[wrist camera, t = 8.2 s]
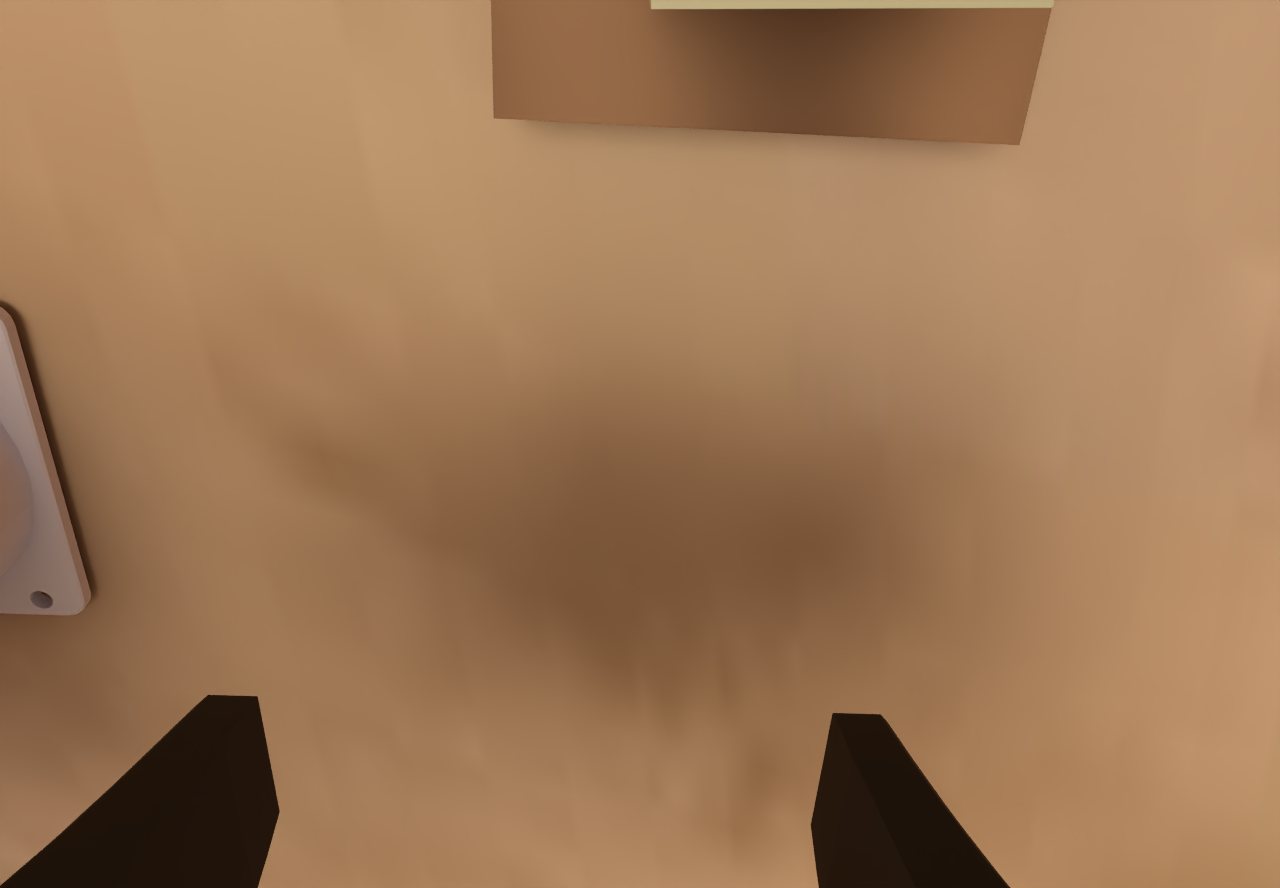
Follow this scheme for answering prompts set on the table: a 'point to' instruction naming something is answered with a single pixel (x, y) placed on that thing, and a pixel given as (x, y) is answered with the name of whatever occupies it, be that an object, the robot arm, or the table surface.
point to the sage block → (845, 4)
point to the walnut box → (770, 68)
